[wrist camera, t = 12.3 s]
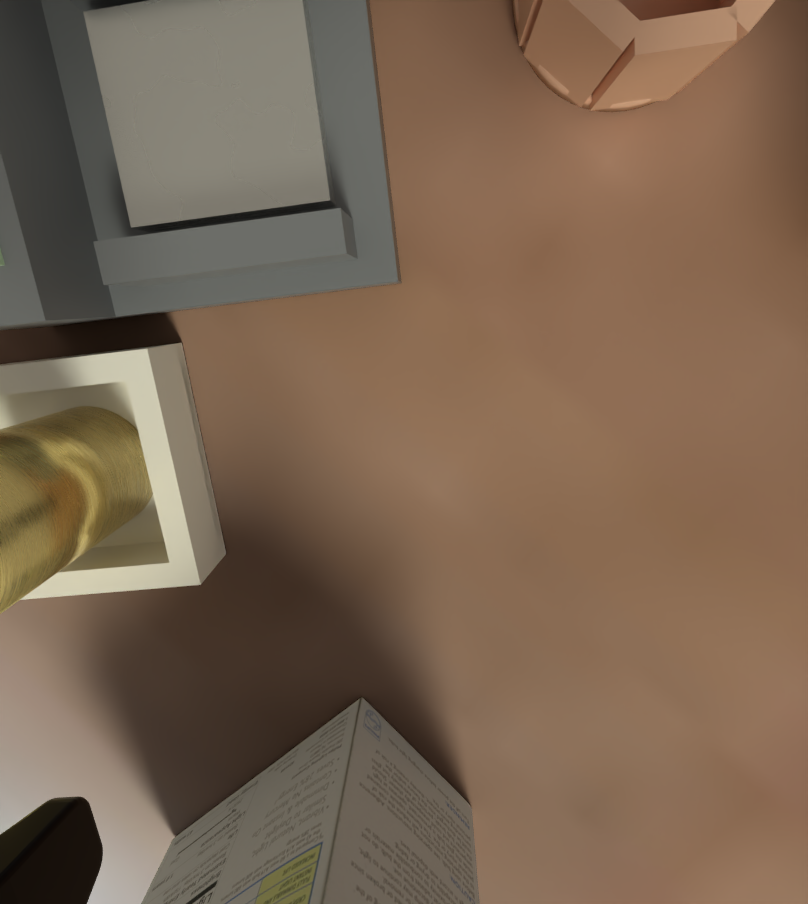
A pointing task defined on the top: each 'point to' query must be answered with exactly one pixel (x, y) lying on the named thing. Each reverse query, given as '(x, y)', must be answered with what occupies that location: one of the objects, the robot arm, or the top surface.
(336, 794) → the light bulb box
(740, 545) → the top surface
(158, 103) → the plate
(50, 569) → the cell
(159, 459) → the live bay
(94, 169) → the grey holder
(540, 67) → the cup
